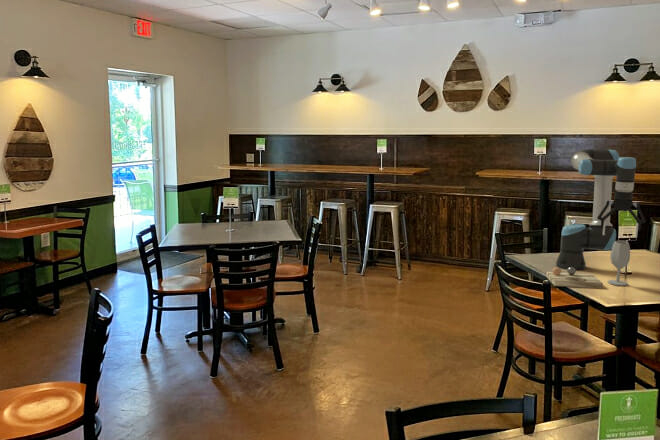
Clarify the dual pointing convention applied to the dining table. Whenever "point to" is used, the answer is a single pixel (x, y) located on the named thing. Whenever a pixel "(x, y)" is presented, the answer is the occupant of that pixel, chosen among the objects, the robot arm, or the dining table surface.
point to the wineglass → (620, 259)
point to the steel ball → (571, 270)
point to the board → (574, 280)
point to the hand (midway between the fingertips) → (619, 236)
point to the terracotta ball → (556, 270)
